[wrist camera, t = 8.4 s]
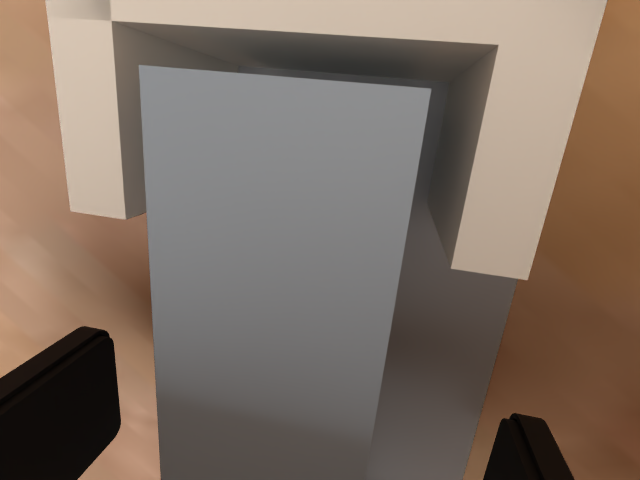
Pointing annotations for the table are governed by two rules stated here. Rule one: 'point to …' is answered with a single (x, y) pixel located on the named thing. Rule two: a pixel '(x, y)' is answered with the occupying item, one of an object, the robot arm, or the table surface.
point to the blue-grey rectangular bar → (273, 266)
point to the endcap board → (433, 170)
